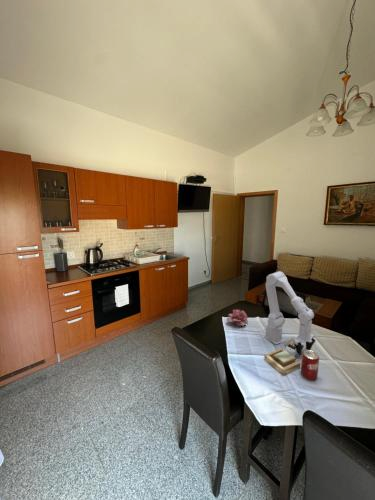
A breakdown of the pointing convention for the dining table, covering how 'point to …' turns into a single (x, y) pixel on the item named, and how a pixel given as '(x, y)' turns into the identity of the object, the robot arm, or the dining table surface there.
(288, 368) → the bay
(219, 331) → the dining table surface
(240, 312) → the flower
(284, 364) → the open box
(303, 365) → the soda can
